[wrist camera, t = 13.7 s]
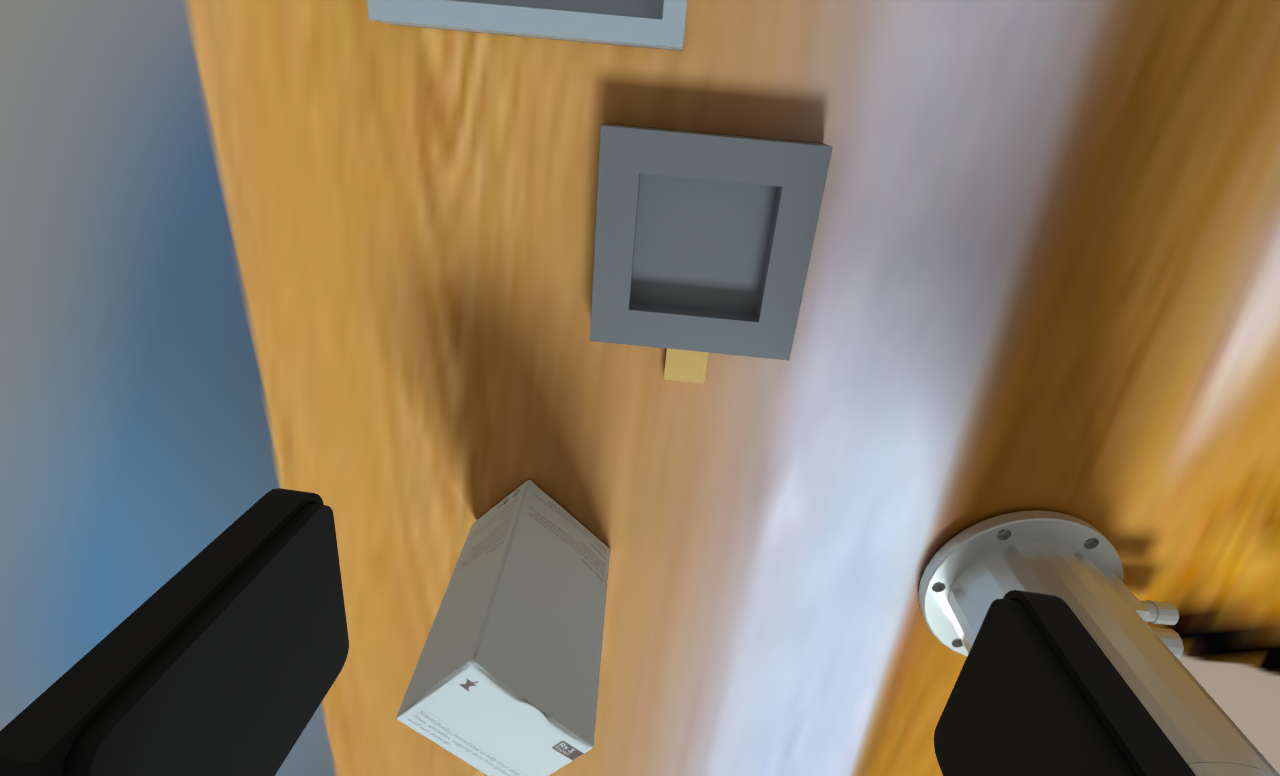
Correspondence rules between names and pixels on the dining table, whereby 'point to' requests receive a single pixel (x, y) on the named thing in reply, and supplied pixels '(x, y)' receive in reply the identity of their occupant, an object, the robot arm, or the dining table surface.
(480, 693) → the skincare box
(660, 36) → the tray
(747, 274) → the socket
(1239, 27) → the dining table surface
